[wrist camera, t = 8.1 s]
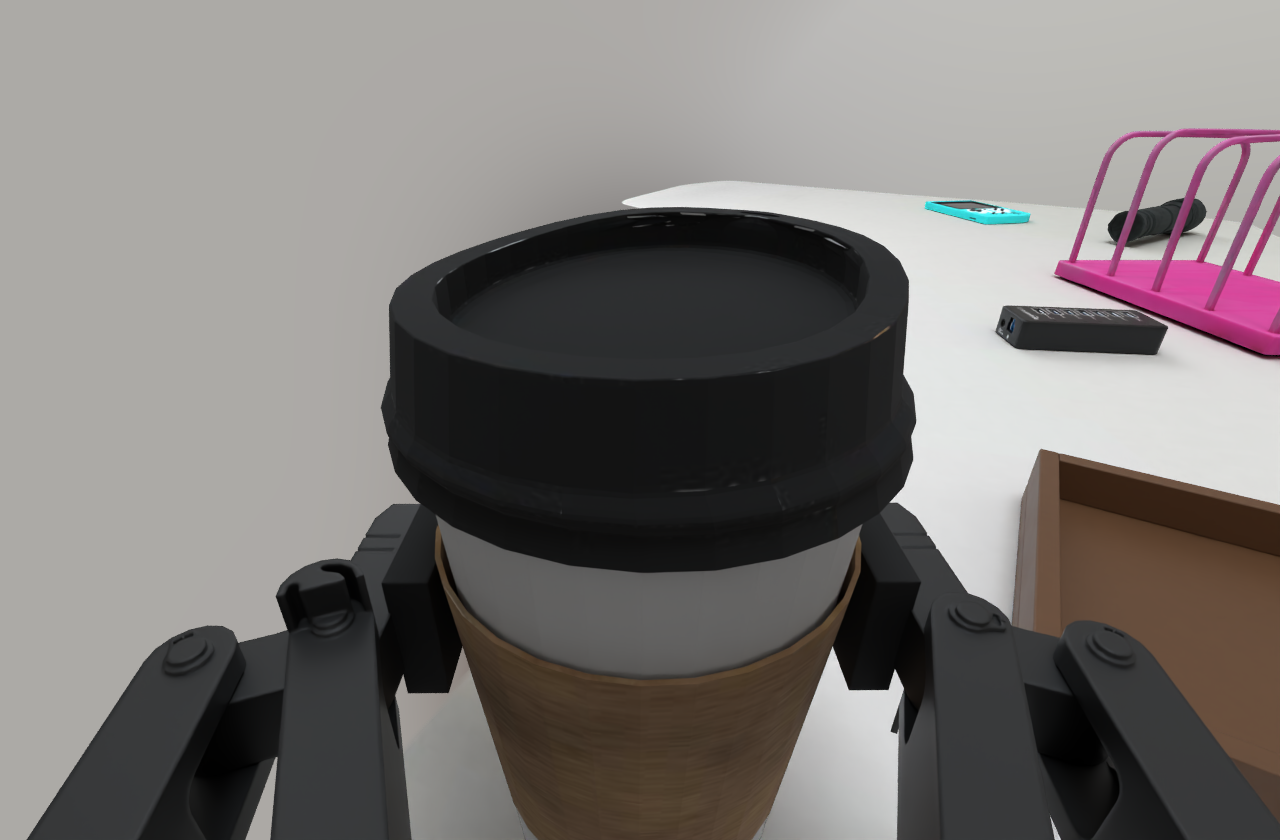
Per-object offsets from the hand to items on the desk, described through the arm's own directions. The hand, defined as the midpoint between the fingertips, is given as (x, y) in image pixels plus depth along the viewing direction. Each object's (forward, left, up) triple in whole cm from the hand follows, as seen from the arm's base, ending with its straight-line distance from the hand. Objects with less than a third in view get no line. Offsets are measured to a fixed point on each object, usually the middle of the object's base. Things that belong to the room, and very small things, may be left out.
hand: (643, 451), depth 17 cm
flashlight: (+25, +106, -10) cm, 109 cm away
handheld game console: (+1, +113, -10) cm, 113 cm away
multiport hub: (+14, +48, -10) cm, 51 cm away
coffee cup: (+2, -4, -9) cm, 10 cm away
